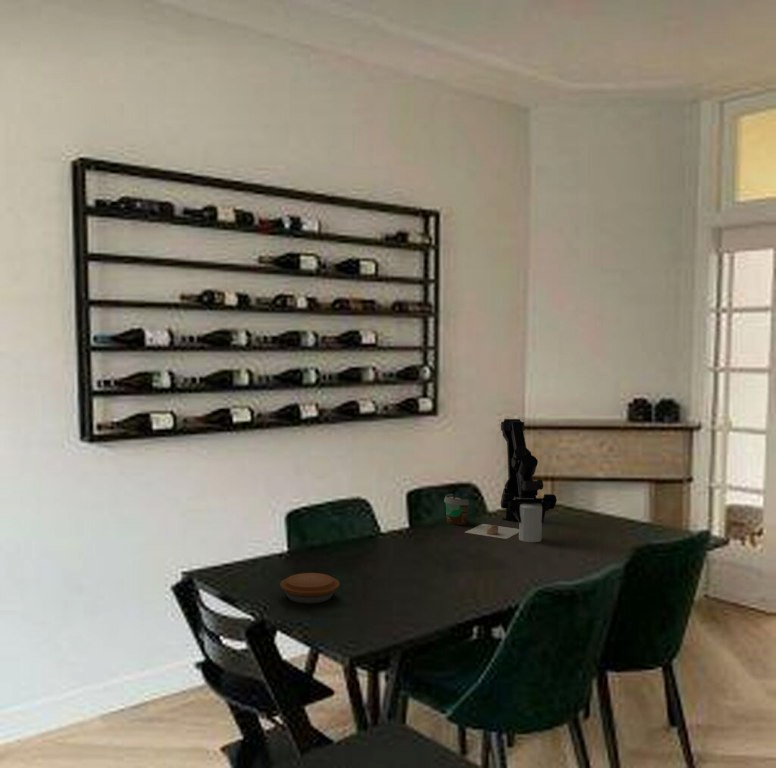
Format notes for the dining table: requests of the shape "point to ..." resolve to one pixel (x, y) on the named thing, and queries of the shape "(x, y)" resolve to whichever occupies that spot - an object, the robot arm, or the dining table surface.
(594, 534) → the dining table surface
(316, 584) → the pie
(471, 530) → the placemat
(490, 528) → the brown short rounded piece
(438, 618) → the dining table surface
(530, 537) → the cover cup
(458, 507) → the food container
